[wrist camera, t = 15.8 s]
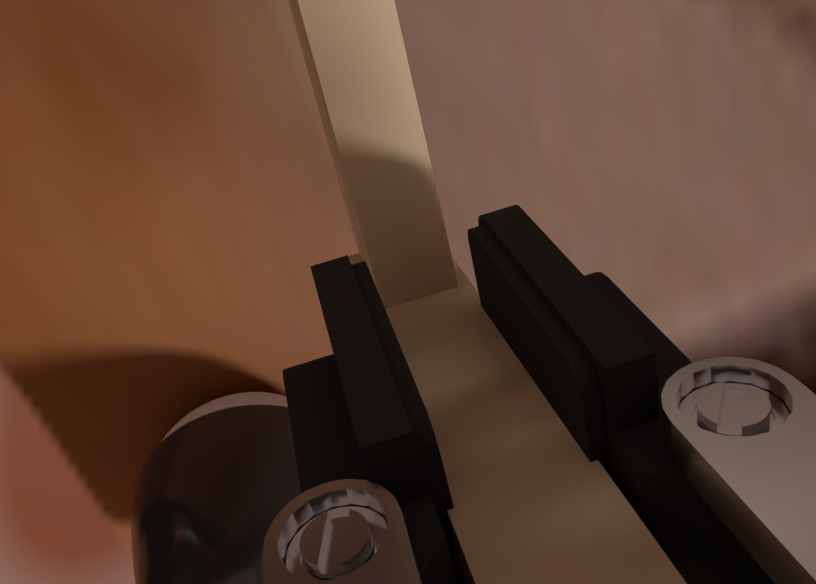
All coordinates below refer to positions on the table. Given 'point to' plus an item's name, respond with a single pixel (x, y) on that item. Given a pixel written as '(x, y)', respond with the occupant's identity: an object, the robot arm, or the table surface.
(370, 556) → the robot arm
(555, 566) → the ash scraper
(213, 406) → the pump dispenser
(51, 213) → the table surface
